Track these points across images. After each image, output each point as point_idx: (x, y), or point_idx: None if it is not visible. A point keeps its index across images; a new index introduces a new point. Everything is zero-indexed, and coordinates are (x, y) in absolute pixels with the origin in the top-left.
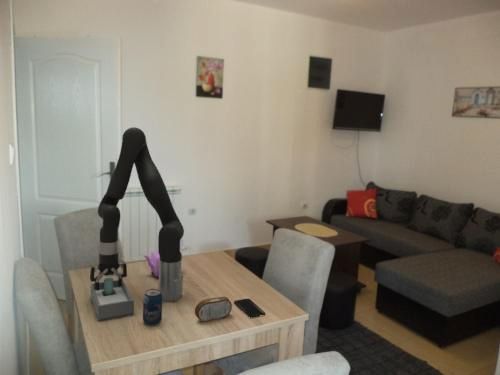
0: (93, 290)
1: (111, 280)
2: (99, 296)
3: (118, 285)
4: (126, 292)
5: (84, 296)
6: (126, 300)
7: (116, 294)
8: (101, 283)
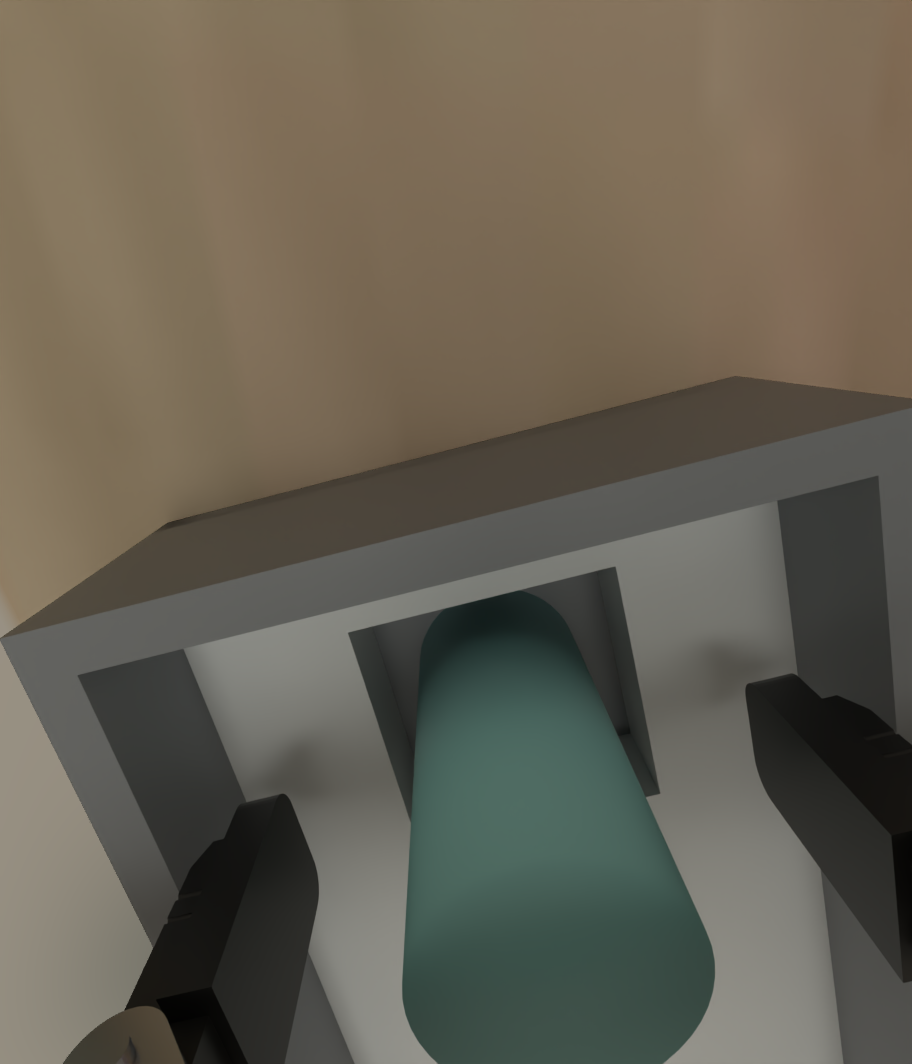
0: None
1: (654, 1055)
2: (351, 849)
3: (764, 741)
4: (893, 1030)
5: (45, 479)
6: (816, 1017)
7: (661, 803)
8: (311, 611)
